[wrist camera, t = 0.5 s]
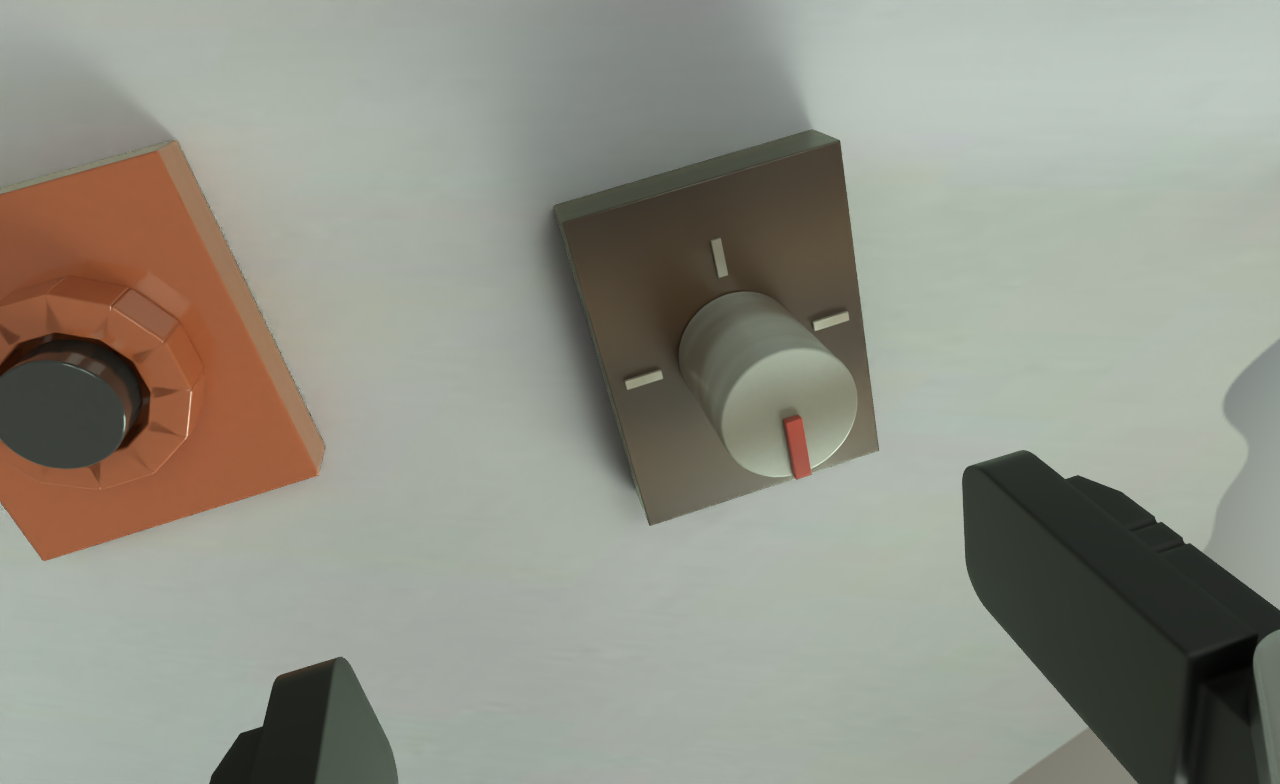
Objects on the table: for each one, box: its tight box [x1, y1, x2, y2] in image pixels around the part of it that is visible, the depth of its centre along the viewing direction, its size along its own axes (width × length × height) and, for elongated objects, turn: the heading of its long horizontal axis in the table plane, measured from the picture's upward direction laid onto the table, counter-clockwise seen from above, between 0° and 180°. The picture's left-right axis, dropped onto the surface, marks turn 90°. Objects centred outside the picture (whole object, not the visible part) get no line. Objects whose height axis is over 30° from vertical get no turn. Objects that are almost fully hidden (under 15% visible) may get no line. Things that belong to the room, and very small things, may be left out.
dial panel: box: [554, 129, 879, 526], centre depth 33 cm, size 13×10×3 cm
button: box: [0, 340, 142, 469], centre depth 26 cm, size 4×4×2 cm
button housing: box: [0, 140, 325, 561], centre depth 28 cm, size 12×10×4 cm
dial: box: [679, 292, 857, 479], centre depth 30 cm, size 5×5×6 cm
